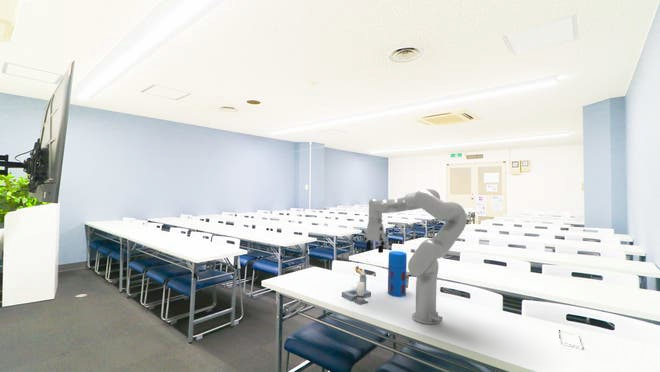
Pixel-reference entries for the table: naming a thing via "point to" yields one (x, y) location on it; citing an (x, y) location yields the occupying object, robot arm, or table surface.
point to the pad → (360, 302)
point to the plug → (360, 292)
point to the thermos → (397, 273)
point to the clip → (360, 271)
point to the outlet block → (352, 293)
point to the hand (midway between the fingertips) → (374, 251)
